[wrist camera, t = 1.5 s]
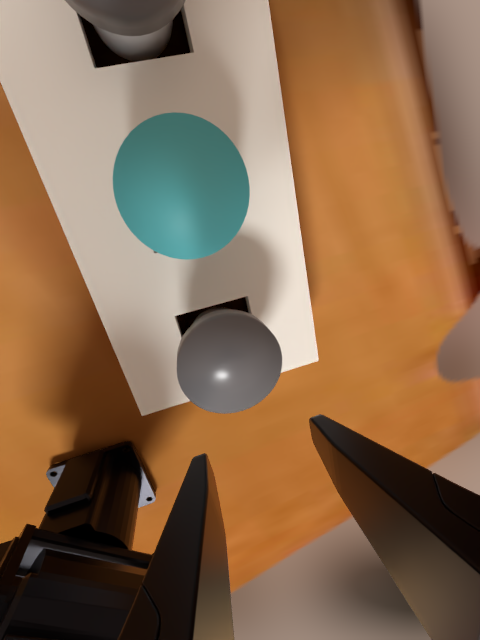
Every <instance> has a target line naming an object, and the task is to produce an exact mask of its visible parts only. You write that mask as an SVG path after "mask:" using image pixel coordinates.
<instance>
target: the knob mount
mask: <svg viewBox="0 0 480 640" xmlns="http://www.w3.org/2000/svg"><path fill="white" fill-rule="evenodd" d="M181 12H182V17H183V21H184V26H185V30H186V35H187V39H188V44H189V48H190V53H187V54H181V55H175V56H169V57H163V58H157V59H151V60H144V61H138V62H132V63H126V64H120V65H114V66H108V67H101V68H97V67H96V64H95V61H94V58H93V55H92V52H91V49H90V46H89V42H88V39H87V36H86V33H85V30H84V27H83V24H82V21H81V18H80V15H79V14H78V13H77V12H76V11H75V10H74V9H73V8H71V7H70V6H69V4H68V3H67V2H66V1H65V0H0V82H1V84H2V87H3V89H4V91H5V94H6V96H7V99H8V101H9V103H10V106H11V108H12V110H13V113H14V115H15V117H16V120H17V122H18V124H19V127H20V129H21V132H22V134H23V136H24V139H25V141H26V143H27V146H28V148H29V150H30V153H31V155H32V158H33V160H34V162H35V165H36V167H37V169H38V172H39V174H40V176H41V179H42V181H43V184H44V186H45V188H46V191H47V193H48V195H49V198H50V200H51V202H52V205H53V207H54V210H55V212H56V214H57V217H58V219H59V221H60V224H61V226H62V228H63V231H64V233H65V235H66V238H67V240H68V243H69V245H70V247H71V250H72V252H73V254H74V257H75V259H76V261H77V264H78V266H79V269H80V271H81V273H82V276H83V278H84V280H85V283H86V285H87V287H88V290H89V292H90V295H91V297H92V299H93V302H94V304H95V306H96V309H97V311H98V313H99V316H100V318H101V321H102V323H103V325H104V328H105V330H106V332H107V335H108V337H109V339H110V342H111V344H112V346H113V349H114V351H115V354H116V356H117V358H118V361H119V363H120V365H121V368H122V370H123V372H124V375H125V377H126V380H127V382H128V384H129V387H130V389H131V391H132V394H133V396H134V398H135V401H136V403H137V406H138V408H139V410H140V413H141V415H142V416H144V415H147V414H150V413H154V412H157V411H160V410H163V409H166V408H169V407H173V406H176V405H179V404H182V403H185V402H189V401H190V400H189V399H188V398H187V397H186V395H185V394H184V392H183V391H182V389H181V387H180V385H179V382H178V378H177V351H178V347H179V344H180V341H181V339H182V337H183V335H182V332H181V329H180V326H179V323H178V320H177V317H176V316H177V315H181V314H184V313H188V312H191V311H195V310H199V309H202V308H206V307H210V306H213V305H217V304H221V303H224V302H228V301H231V300H235V299H239V298H242V297H245V299H246V303H247V308H248V312H249V314H252V315H254V316H255V317H257V318H258V319H259V320H261V321H262V322H263V323H264V324H265V325H266V326H267V328H268V329H269V330H270V331H271V332H272V333H273V335H274V336H275V337H276V339H277V341H278V343H279V345H280V348H281V352H282V369H281V372H284V371H288V370H291V369H294V368H297V367H300V366H304V365H307V364H310V363H313V362H316V361H319V359H318V352H317V345H316V338H315V331H314V323H313V316H312V309H311V302H310V295H309V288H308V280H307V273H306V266H305V259H304V252H303V245H302V237H301V230H300V223H299V216H298V209H297V202H296V194H295V187H294V180H293V173H292V166H291V159H290V151H289V144H288V137H287V130H286V123H285V116H284V109H283V101H282V94H281V87H280V80H279V73H278V66H277V58H276V51H275V44H274V37H273V30H272V23H271V15H270V8H269V1H268V0H186V1H185V3H184V4H183V6H182V8H181ZM172 112H177V113H187V114H192V115H195V116H198V117H201V118H203V119H205V120H207V121H209V122H211V123H212V124H214V125H215V126H217V127H218V128H219V129H220V130H221V131H223V132H224V133H225V134H226V135H227V136H228V137H229V139H230V140H231V141H232V142H233V143H234V145H235V146H236V148H237V149H238V151H239V153H240V155H241V157H242V159H243V161H244V164H245V167H246V170H247V174H248V179H249V186H250V197H249V206H248V210H247V214H246V217H245V220H244V222H243V224H242V226H241V228H240V230H239V231H238V233H237V234H236V236H235V237H234V238H233V239H232V240H231V241H230V242H229V243H228V244H227V245H226V246H225V247H224V248H222V249H221V250H219V251H218V252H216V253H213V254H211V255H209V256H206V257H203V258H198V259H187V260H185V259H176V258H171V257H168V256H165V255H162V254H160V253H158V252H156V251H154V250H152V249H150V248H149V247H147V246H146V245H145V244H143V243H142V242H141V241H140V240H139V239H138V238H137V237H136V236H135V235H134V234H133V233H132V232H131V231H130V229H129V228H128V226H127V225H126V224H125V222H124V220H123V218H122V216H121V214H120V212H119V210H118V207H117V204H116V200H115V197H114V190H113V169H114V163H115V159H116V156H117V153H118V151H119V148H120V146H121V145H122V143H123V141H124V139H125V138H126V137H127V136H128V134H129V133H130V132H131V131H132V130H133V129H134V128H135V127H136V126H137V125H139V124H140V123H142V122H143V121H145V120H147V119H149V118H151V117H153V116H156V115H160V114H163V113H172Z"/></svg>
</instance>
